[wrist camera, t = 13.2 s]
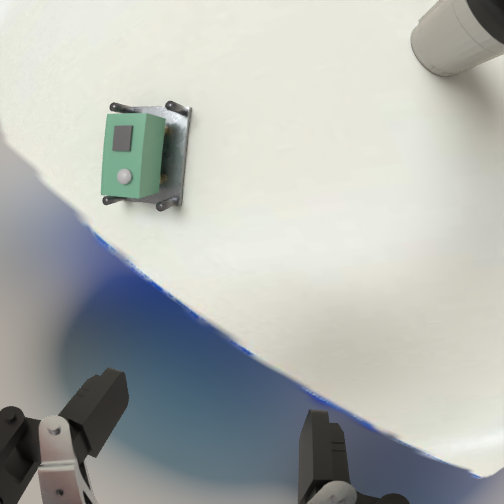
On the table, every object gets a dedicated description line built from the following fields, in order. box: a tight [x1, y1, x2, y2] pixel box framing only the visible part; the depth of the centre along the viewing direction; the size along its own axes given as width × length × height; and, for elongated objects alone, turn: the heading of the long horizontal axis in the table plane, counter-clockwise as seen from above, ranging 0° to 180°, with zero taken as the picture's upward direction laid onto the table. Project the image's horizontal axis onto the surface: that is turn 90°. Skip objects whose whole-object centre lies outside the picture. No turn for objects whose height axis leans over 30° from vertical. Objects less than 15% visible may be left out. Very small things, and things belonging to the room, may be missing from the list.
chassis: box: [103, 101, 191, 211], centre depth 39 cm, size 14×10×6 cm
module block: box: [101, 113, 166, 199], centre depth 35 cm, size 10×6×7 cm, turn 173°
